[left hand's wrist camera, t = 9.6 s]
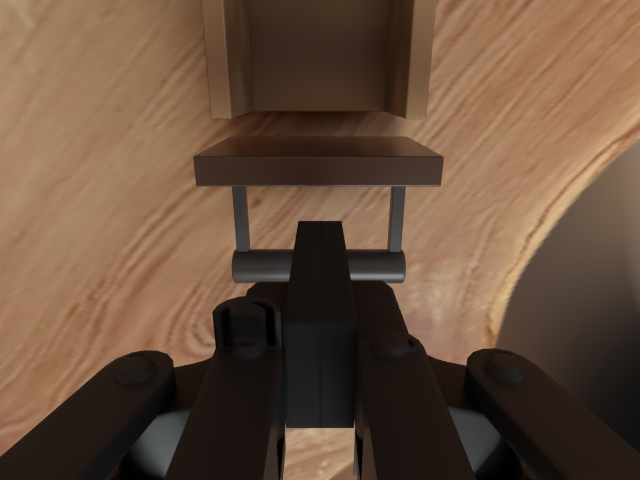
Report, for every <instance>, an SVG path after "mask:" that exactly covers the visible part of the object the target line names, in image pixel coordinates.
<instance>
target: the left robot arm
mask: <svg viewBox="0 0 640 480" xmlns="http://www.w3.org/2000/svg"><path fill="white" fill-rule="evenodd" d="M212 314H213V324H214V333H215V343H216V349H215V352H214V354H213V357H211V358H209V359H207V360H204V361H201V362H197V363H194V364H189V365H184V366H179V367H175V368H174V365H173V360H172V359H171V358H170V357H169V356H168V354H165V353H162V352H159V351H146V350H144V351H139V352H133V353H130V354H127V355H125V356H122V357H120V358H117V359H115V360H114V361H112V362H111V363H109V364H108V365H106V366H105V367H104V368H103V369H102V370H100V371H99V372H98V373H97V374H96V375H95V376H93V377H92V378H91V379H90V380H89V381H88V382H87V383H85V384H84V385H83V386H82V387H81V388H80V389H78V390H77V391H76V392H75V393H74V394H73V395H71V396H70V397H69V398H68V399H67V400H66V401H65V402H63V403H62V404H61V405H60V406H59V407H58V408H56V409H55V410H54V411H53V412H52V413H51V414H49V415H48V416H47V417H46V418H45V419H44V420H43V421H41V422H40V423H39V424H38V425H37V426H36V427H34V428H33V429H32V430H31V431H30V432H29V433H27V434H26V435H25V436H24V437H23V438H22V439H21V440H19V441H18V442H17V443H16V444H15V445H14V446H12V447H11V448H10V449H9V450H8V451H7V452H6V453H4V454H3V455H2V456H1V457H0V480H283V471H284V460H285V449H286V446H285V423H286V428H354V421H355V446H354V473H353V475H357V480H640V454H639V453H638V452H637V451H636V450H635V449H633V448H632V447H631V446H630V445H629V444H627V443H626V442H625V441H624V440H623V439H622V438H621V437H619V436H618V435H617V434H616V433H615V432H614V431H612V430H611V429H610V428H609V427H608V426H607V425H605V424H604V423H603V422H602V421H601V420H600V419H598V418H597V417H596V416H595V415H594V414H593V413H591V412H590V411H589V410H588V409H587V408H586V407H584V406H583V405H582V404H581V403H580V402H579V401H577V400H576V399H575V398H574V397H573V396H572V395H570V394H569V393H568V392H567V391H566V390H564V389H563V388H562V387H561V386H560V385H559V384H557V383H556V382H555V381H554V380H553V379H552V378H551V377H549V376H548V375H547V374H546V373H545V372H544V371H542V370H541V369H540V368H539V367H538V366H537V365H535V364H534V363H532V362H531V361H529V360H528V359H526V358H525V357H523V356H521V355H518V354H515V353H513V352H511V351H507V350H502V349H481V350H478V351H475V352H473V353H472V354H471V355H470V356H469V357H468V358H467V365H466V366H465V365H460V364H455V363H450V362H445V361H442V360H438V359H435V358H433V357H431V356H428V355H427V354H426V351H425V349H424V347H423V345H422V344H421V343H420V341H419V340H418V339H416V338H415V337H413V336H411V335H410V334H409V333H408V330H407V328H406V325H405V322H404V319H403V317H402V314H401V311H400V309H399V306H398V303H397V300H396V297H395V295H394V292H393V289H392V288H391V287H390V286H388V285H387V284H386V283H385V282H383V281H382V280H351V277H350V271H349V265H348V258H347V252H346V246H345V240H344V234H343V228H342V222H341V221H299V222H298V228H297V234H296V240H295V246H294V252H293V258H292V265H291V271H290V277H289V282H257V283H256V284H255V285H253V286H252V287H251V288H250V289H248V291H247V293H246V296H243V297H237V298H233V299H230V300H227V301H225V302H223V303H221V304H219V305H218V306H217V307H216V308H215V309H214V310H213V312H212Z"/></svg>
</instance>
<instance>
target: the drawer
mask: <svg viewBox="0 0 640 480" xmlns="http://www.w3.org/2000/svg"><path fill="white" fill-rule="evenodd" d="M201 8H202V19H203V31H204V42H205V54H206V65H207V76H208V88H209V99H210V111H211V118H212V119H231V118H234V117H237V116H240V115H243V114H246V113H249V112H252V111H385V112H388V113H391V114H394V115H396V116H399V117H402V118H405V119H425V118H426V113H427V101H428V90H429V78H430V67H431V55H432V44H433V32H434V21H435V9H436V0H201ZM193 158H194V168H195V177H196V185H197V186H232V193H233V206H234V219H235V233H236V246H237V249H236V250H235V251H234V253H233V257H232V276H233V280H234V282H235V283H257V282H289V277H290V271H291V265H292V258H293V252H294V249H250V238H249V222H248V206H247V190H246V186H391V198H390V214H389V230H388V246H387V248H388V249H346V252H347V258H348V265H349V271H350V277H351V280H382V281H383V282H385V283H403V282H404V279H405V272H406V262H405V255H404V252H403V250H401V241H402V228H403V215H404V201H405V188H406V186H437V187H439V186H441V179H442V169H443V160H444V157H443V156H441V155H439V154H438V153H436V152H434V151H432V150H430V149H429V148H427V147H425V146H423V145H421V144H419V143H418V142H416V141H414V140H412V139H410V138H408V137H306V136H231V137H229V138H227V139H225V140H223V141H222V142H220V143H218V144H216V145H214V146H212V147H210V148H209V149H207V150H205V151H203V152H201V153H199V154H197V155H195V156H194V157H193Z"/></svg>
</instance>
